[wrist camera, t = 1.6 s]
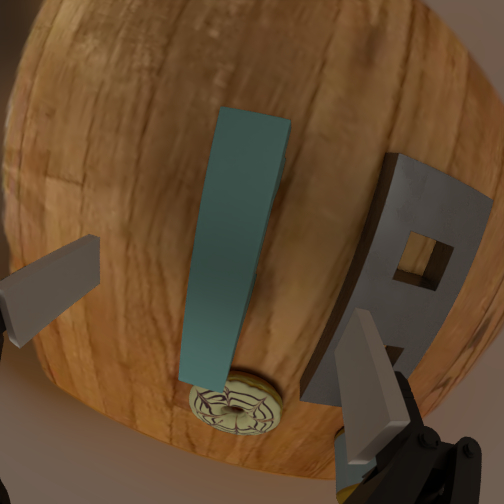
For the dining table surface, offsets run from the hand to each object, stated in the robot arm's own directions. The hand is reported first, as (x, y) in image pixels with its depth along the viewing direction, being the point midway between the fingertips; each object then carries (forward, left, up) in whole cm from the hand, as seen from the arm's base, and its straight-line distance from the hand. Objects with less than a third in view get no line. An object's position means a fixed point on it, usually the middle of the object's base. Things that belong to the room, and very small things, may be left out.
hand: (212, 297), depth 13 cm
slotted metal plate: (+3, +14, -11) cm, 18 cm away
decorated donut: (+20, +3, -11) cm, 23 cm away
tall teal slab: (0, 0, -11) cm, 11 cm away
